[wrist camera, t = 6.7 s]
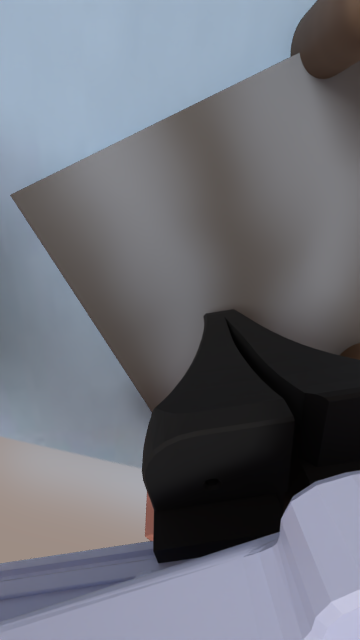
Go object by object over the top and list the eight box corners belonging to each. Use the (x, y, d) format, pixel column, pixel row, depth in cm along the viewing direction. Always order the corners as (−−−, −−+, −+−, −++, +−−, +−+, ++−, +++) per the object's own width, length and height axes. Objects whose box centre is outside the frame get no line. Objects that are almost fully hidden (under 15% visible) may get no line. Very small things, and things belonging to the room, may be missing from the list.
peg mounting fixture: (170, 433, 17) (176, 572, 11) (0, 167, 10) (-273, 142, 4) (374, 366, 16) (511, 486, 10) (357, -16, 8) (962, -621, 2)
